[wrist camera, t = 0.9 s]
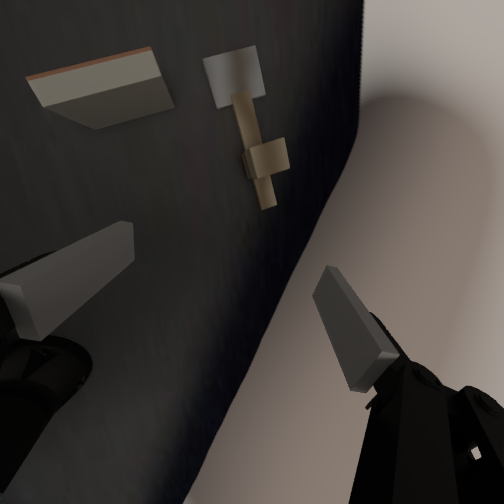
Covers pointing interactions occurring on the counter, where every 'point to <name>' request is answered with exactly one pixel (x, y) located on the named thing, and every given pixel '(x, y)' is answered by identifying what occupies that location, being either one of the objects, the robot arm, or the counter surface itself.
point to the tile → (105, 89)
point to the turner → (247, 116)
